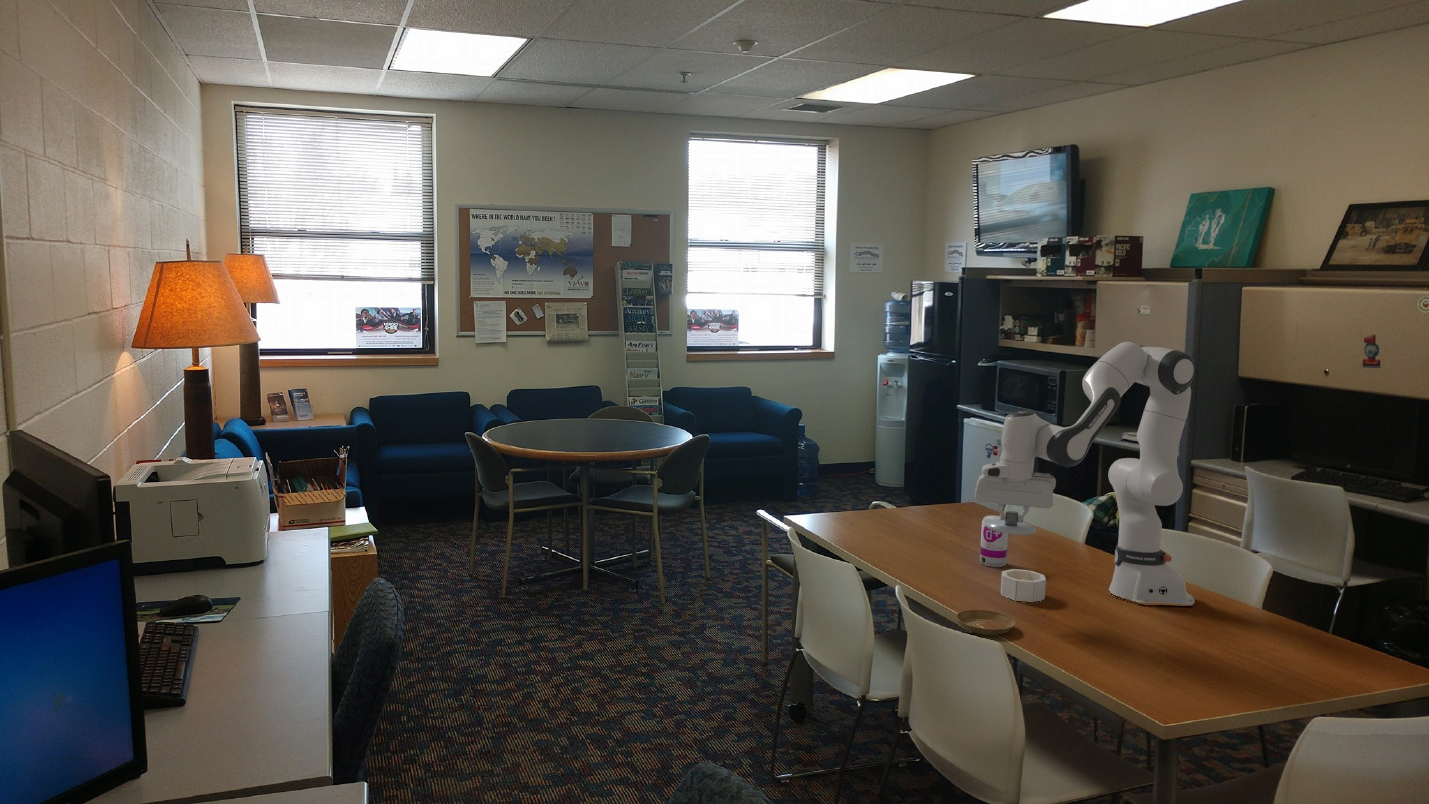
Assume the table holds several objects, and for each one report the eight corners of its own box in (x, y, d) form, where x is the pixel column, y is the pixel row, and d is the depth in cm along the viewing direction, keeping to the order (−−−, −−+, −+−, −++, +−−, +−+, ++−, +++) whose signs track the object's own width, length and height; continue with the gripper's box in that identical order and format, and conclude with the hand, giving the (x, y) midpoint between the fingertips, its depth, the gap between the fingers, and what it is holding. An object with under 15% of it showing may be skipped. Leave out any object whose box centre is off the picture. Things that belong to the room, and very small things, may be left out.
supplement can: (1000, 569, 299) (1003, 522, 298) (975, 564, 304) (978, 518, 302) (1010, 563, 306) (1013, 517, 304) (985, 558, 311) (988, 513, 309)
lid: (1033, 525, 265) (1035, 509, 264) (1038, 536, 252) (1039, 520, 252) (984, 520, 268) (986, 504, 267) (987, 531, 255) (988, 514, 255)
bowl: (1041, 591, 278) (1042, 571, 277) (1046, 604, 267) (1047, 583, 266) (999, 587, 280) (1000, 567, 280) (1002, 600, 269) (1004, 579, 269)
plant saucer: (958, 636, 241) (958, 626, 241) (953, 616, 255) (953, 607, 255) (1019, 641, 239) (1019, 631, 238) (1010, 621, 253) (1011, 611, 253)
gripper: (1055, 472, 259) (1050, 522, 261) (976, 465, 263) (972, 514, 265) (1058, 476, 253) (1053, 527, 254) (977, 469, 257) (973, 519, 259)
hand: (1011, 521), depth 260 cm, fingers closed on lid, 3 cm apart
